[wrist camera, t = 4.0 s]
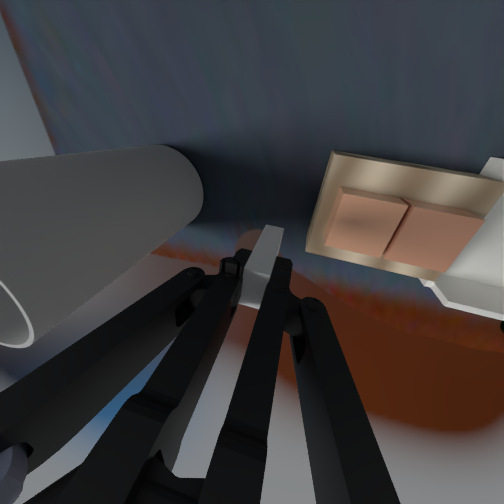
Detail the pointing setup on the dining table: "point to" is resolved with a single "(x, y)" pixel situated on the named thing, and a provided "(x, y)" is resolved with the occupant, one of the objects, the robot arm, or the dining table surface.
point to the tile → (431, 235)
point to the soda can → (502, 326)
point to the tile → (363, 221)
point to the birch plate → (399, 185)
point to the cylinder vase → (83, 227)
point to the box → (478, 263)
